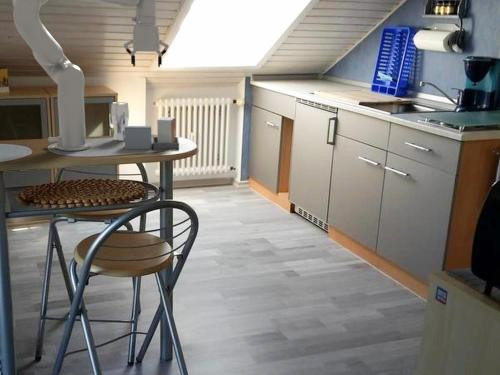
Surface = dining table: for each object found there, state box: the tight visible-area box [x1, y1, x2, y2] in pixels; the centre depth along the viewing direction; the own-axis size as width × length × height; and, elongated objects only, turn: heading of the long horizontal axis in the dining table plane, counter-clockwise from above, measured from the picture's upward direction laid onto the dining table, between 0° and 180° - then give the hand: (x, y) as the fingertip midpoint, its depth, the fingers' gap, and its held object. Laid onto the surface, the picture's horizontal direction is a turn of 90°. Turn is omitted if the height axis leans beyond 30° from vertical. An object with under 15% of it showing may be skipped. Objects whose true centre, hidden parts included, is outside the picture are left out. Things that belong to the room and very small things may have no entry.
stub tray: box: [152, 136, 180, 151], centre depth 237 cm, size 10×12×2 cm
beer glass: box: [110, 101, 130, 142], centre depth 245 cm, size 7×7×15 cm
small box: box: [156, 116, 177, 143], centre depth 236 cm, size 8×6×10 cm
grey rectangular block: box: [124, 125, 153, 150], centre depth 233 cm, size 10×5×8 cm, turn 99°
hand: (146, 66), depth 235 cm, fingers open, 9 cm apart
